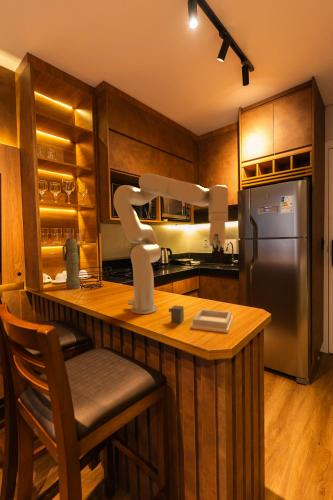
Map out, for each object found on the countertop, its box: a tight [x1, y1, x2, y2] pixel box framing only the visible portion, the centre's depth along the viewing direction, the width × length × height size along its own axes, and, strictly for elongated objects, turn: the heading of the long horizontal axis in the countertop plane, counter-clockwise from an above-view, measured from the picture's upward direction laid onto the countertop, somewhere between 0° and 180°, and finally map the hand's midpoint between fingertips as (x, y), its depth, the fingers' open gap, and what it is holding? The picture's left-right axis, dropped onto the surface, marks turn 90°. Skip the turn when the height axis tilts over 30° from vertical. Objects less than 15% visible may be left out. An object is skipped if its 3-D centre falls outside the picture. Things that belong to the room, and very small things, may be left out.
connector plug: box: [168, 305, 185, 325], centre depth 99 cm, size 6×4×6 cm
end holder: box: [190, 308, 234, 333], centre depth 96 cm, size 14×16×3 cm
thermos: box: [61, 237, 81, 290], centre depth 167 cm, size 9×12×35 cm
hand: (218, 260), depth 96 cm, fingers open, 9 cm apart
